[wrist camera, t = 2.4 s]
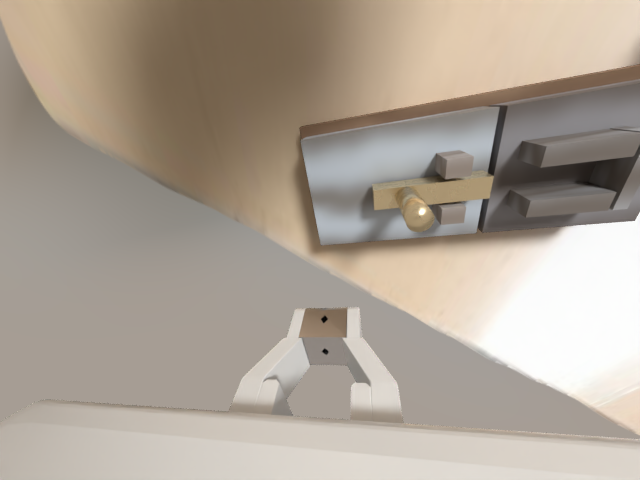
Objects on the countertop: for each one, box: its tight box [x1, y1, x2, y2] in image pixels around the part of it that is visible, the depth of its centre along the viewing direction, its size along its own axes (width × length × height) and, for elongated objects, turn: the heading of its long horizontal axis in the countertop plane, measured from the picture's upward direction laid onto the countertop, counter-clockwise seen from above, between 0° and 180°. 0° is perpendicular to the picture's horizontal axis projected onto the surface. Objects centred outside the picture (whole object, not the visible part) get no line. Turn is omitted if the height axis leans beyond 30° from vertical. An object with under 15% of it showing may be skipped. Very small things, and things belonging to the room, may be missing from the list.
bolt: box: [372, 170, 494, 232], centre depth 20 cm, size 2×10×7 cm, turn 100°
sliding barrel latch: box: [300, 64, 640, 245], centre depth 23 cm, size 14×32×8 cm, turn 100°
